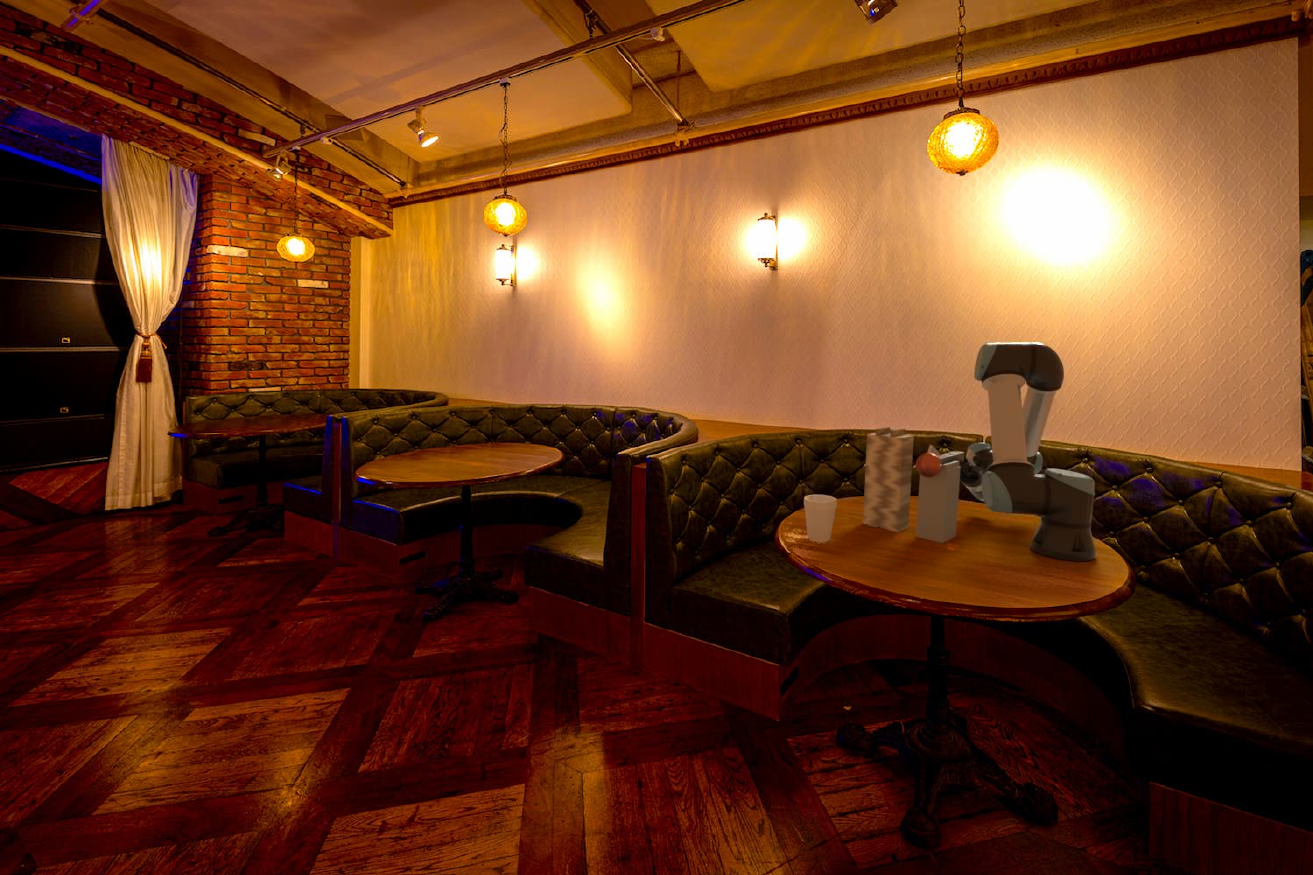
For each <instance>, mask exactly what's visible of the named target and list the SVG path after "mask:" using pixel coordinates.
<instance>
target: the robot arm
mask: <svg viewBox="0 0 1313 875" xmlns="http://www.w3.org/2000/svg"><path fill="white" fill-rule="evenodd" d="M1064 370H1065V369H1064V365H1063V362H1062V360H1061V357H1060V356H1059V354H1058V353H1057V352H1056V351H1055V350H1054V349H1053V348H1052V347H1050V346H1048V345H1046V344H1045V343H1041V342H1035V341H1033V342H997V341H996V342H993V343H992V342H990V343H984V344H983V345H981V346H980V348H979V350H978V353H977V356H976V360H975V365H974V372H973V373H974V374H973V375H974V377H973V378H974V380H976V381H978V382H981V387H982V389H983V390H985V391H987V396H988V411H989V423H990V436H991V437H990V438H991V440H990V441H991V445H990V444H989V443H986V442H975V443H972V444H970V445H969V446H968V447H967V452H966V455H965V458H966V460H967V463H964V462H961V463H959V466H960V467H961V469H960V483H962V485H963V486H965V487H966V488H967V489H968V490H969V492H970V493H971V494H972V495H973V496H974V497H975V498H976V499H978V501H979V500H980V501H981V502H983V503H984V504H985V505H986V507H987V508H988V509H989V510H990V511H992V512H994V513H1000V514H1001V513H1002V514H1006V515H1010V514H1016V515H1033V516H1040V523H1039V525H1038V527H1037V529H1036V530H1035V533H1034V535H1033V536H1032V539H1031V543H1030V549H1031V548H1032V549H1033V550H1032V549H1031V550H1032V551H1033V552H1035V553H1037V554H1040V555H1043V556H1045V555H1046V556H1045V557H1048V556H1049V558H1052V557H1054V558H1053V559H1057V558H1058V560H1062V559H1063V561H1069V560H1071V562H1072V561H1073V560H1074V561H1073V562H1087V561H1088V560H1089V561H1092V559H1093V560H1094V558H1095V559H1096V555H1097V554H1096V553H1097V548H1096V545H1095V542H1094V537H1093V534H1092V531H1091V528H1092V527H1091V526H1092V518H1093V517H1092V516H1093V509H1094V501H1095V496H1096V492H1095V485H1096V484H1095V480H1094V479H1093V478H1092V477H1091V476H1088V475H1086V474H1083V473H1080V472H1076V471H1072V470H1066V469H1060V468H1046V469H1045V470H1044V473H1040V472H1041V471H1042V468H1043V462H1044V460H1043V455H1042V454H1041V452H1039V448H1040V445H1041V444H1040V443H1041V440H1042V438H1043V435H1044V431H1045V429H1046V428H1045V427H1046V425H1047V422H1048V418H1049V415H1050V412H1051V409H1052V408H1051V407H1052V405H1053V403H1054V399H1055V395H1056V392H1057V391H1059V390H1061V389H1062V385H1063V382H1064V378H1065V371H1064ZM1024 385H1026V386H1027V390H1026V394H1025V396H1024V397H1025V398H1024V401H1023V402H1022V393H1021V388H1023V386H1024ZM1022 403H1023V404H1022ZM926 453H933V454H935V455H937V456H939V455H941V453H940V452H939V451H938V449H936V448H935V447H934V445H932V444H929V446H928V449H927V452H926Z"/></svg>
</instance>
